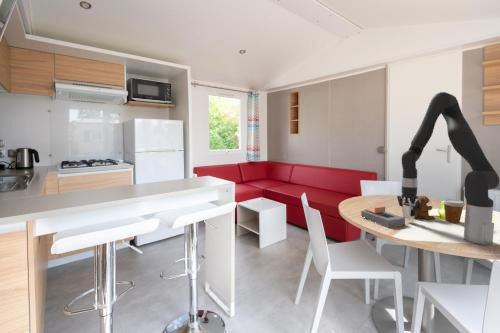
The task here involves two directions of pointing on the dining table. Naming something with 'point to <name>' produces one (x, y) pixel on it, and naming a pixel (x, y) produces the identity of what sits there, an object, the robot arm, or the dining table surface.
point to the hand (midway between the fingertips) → (408, 215)
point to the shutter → (376, 209)
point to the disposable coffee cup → (453, 210)
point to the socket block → (384, 218)
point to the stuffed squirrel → (423, 209)
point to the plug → (407, 211)
